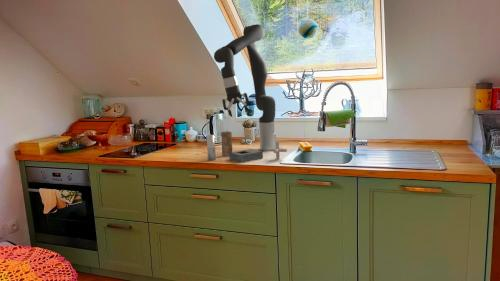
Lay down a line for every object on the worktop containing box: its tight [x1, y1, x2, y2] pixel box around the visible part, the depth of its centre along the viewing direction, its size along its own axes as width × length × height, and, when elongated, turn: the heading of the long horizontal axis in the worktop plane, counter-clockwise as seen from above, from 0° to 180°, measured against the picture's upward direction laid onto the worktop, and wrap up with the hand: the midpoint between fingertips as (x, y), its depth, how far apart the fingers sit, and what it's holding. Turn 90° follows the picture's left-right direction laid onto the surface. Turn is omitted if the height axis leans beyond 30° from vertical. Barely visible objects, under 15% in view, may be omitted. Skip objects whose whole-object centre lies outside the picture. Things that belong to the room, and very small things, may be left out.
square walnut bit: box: [220, 131, 233, 158], centre depth 224 cm, size 4×4×14 cm
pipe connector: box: [268, 140, 288, 160], centre depth 209 cm, size 10×10×10 cm
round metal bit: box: [206, 134, 217, 162], centre depth 213 cm, size 4×4×14 cm
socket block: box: [228, 148, 264, 163], centre depth 213 cm, size 15×11×4 cm
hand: (238, 114), depth 211 cm, fingers open, 8 cm apart
